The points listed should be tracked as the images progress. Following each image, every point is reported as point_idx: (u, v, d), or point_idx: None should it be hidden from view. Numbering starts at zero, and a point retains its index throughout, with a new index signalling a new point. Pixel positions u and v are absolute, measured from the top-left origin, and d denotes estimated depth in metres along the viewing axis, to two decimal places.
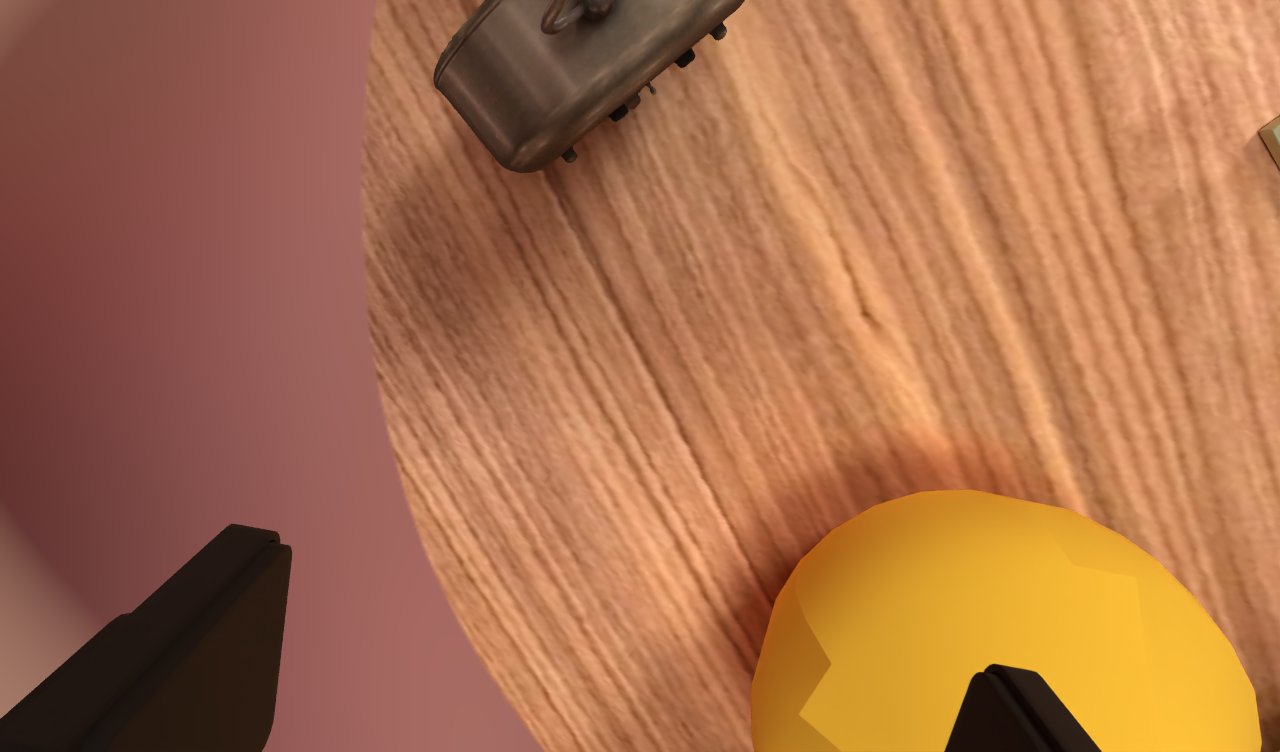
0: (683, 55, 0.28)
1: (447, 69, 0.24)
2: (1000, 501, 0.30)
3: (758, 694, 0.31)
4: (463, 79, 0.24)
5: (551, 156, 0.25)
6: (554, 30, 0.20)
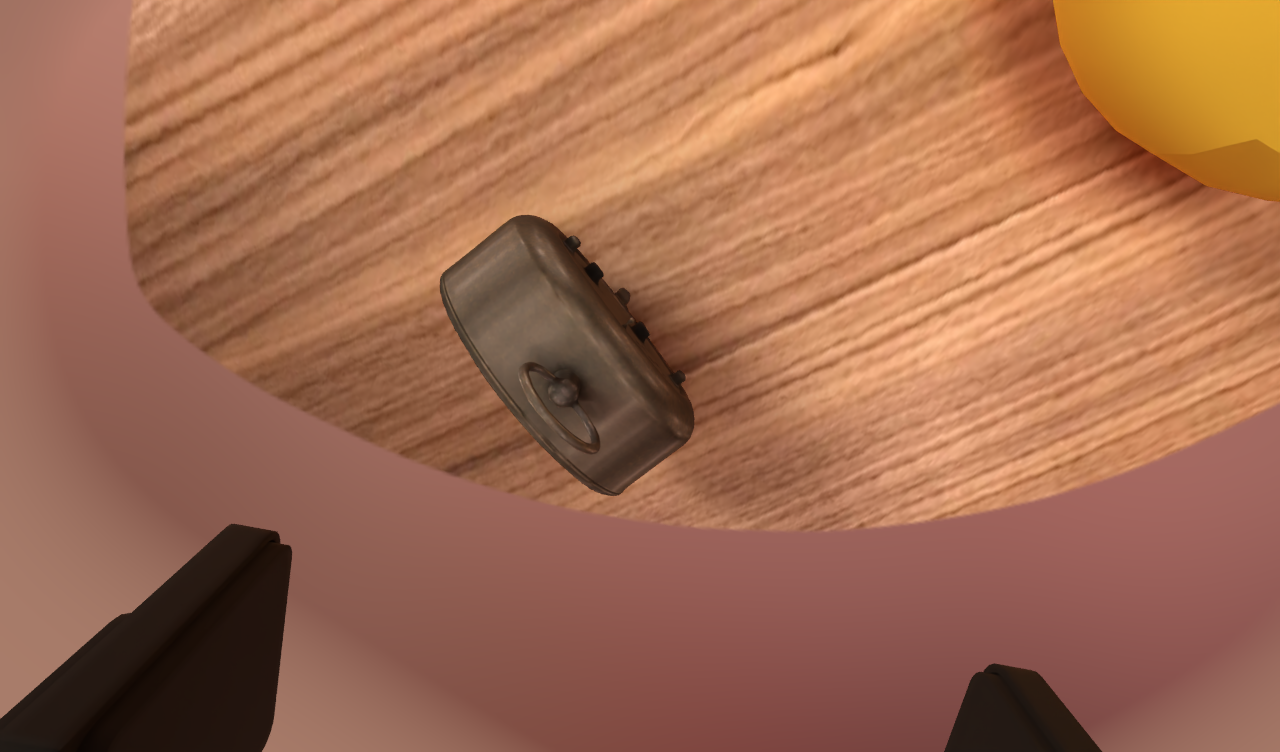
0: (593, 274, 0.30)
1: (613, 490, 0.29)
2: None
3: (1277, 199, 0.27)
4: (622, 479, 0.29)
5: (684, 407, 0.29)
6: (596, 436, 0.24)
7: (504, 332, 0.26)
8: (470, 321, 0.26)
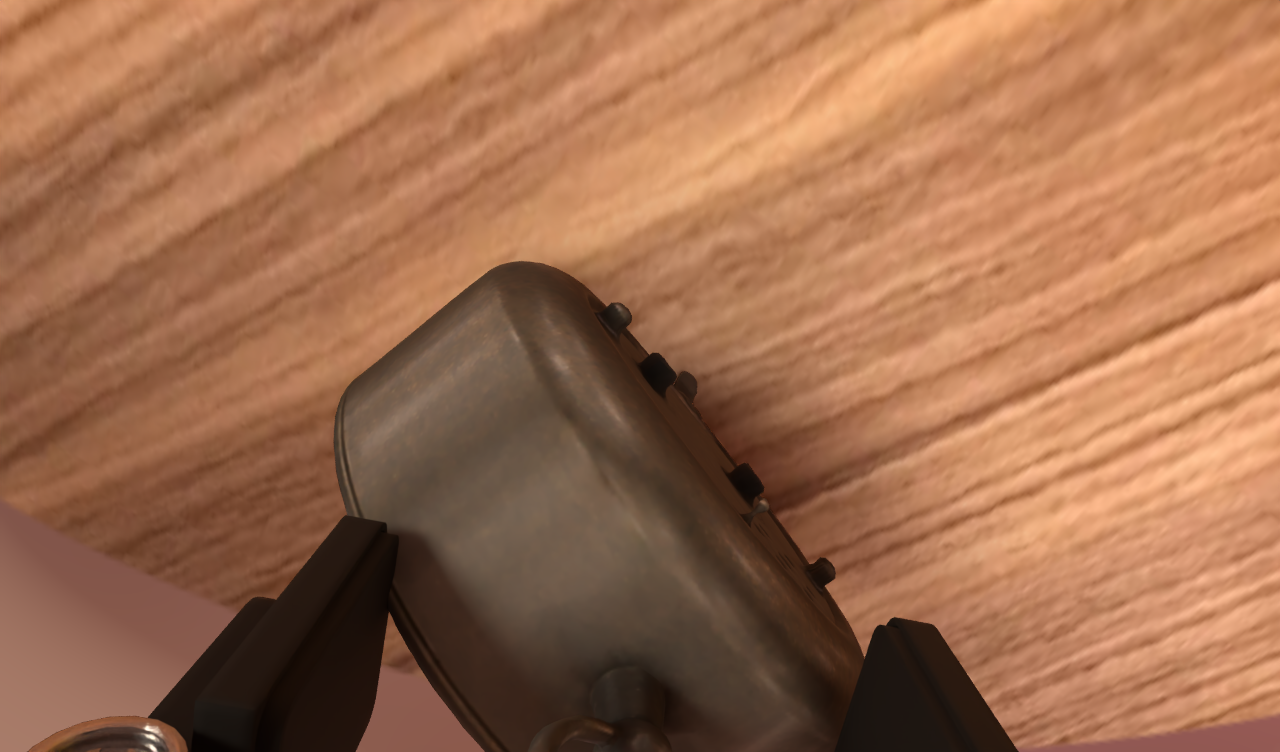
0: (658, 379, 0.15)
1: None
2: None
3: None
4: None
5: None
6: None
7: (475, 569, 0.10)
8: None
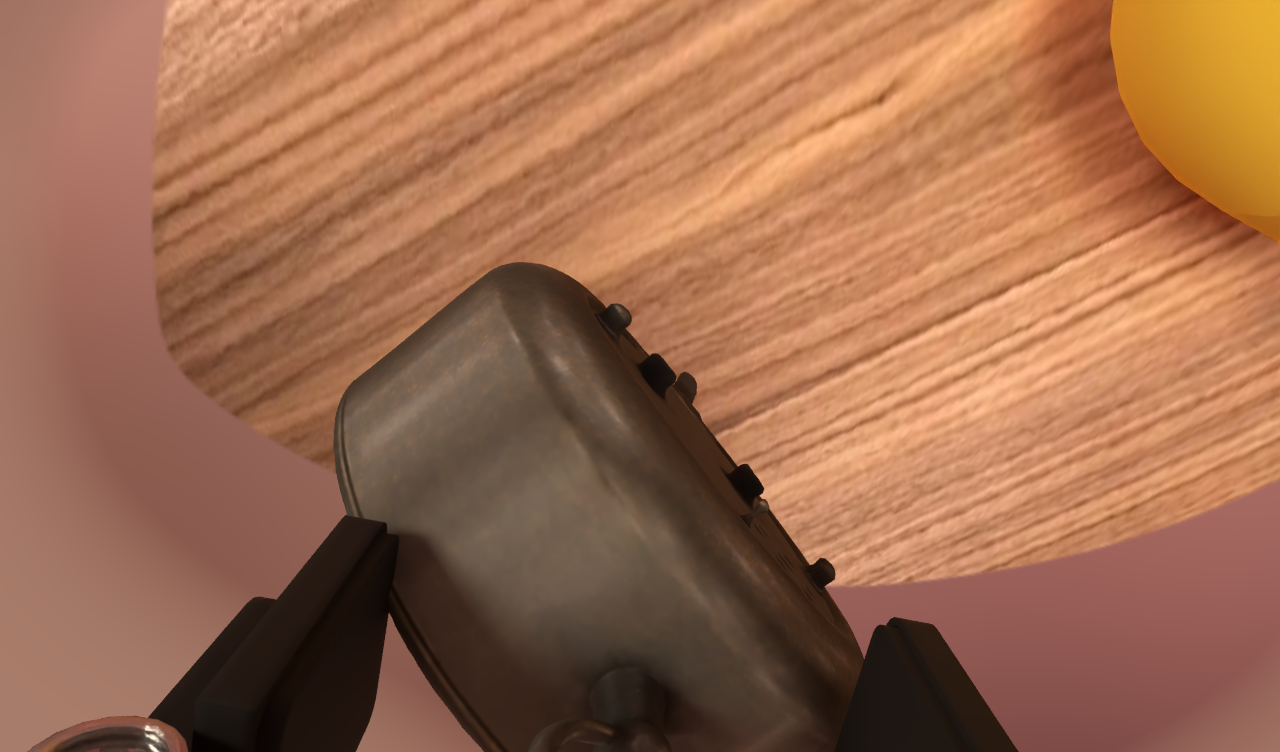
0: (657, 379, 0.15)
1: None
2: None
3: None
4: None
5: None
6: None
7: (475, 570, 0.10)
8: None
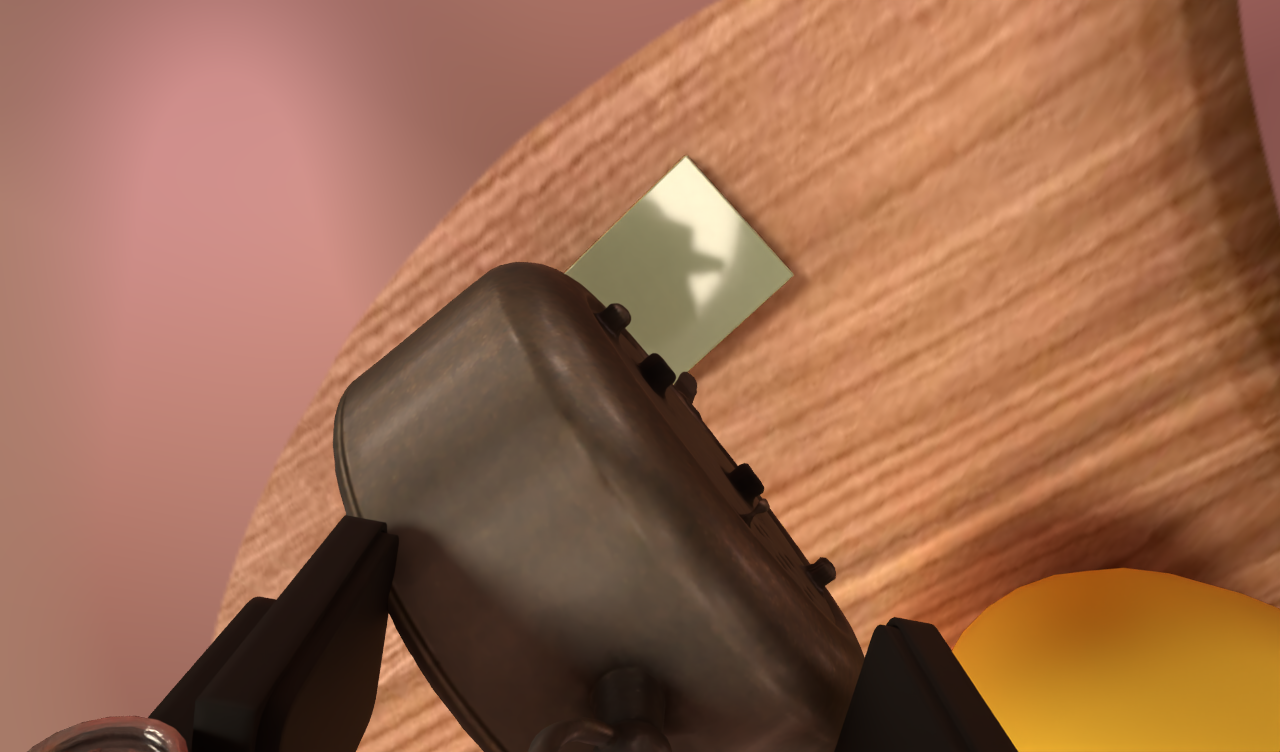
0: (657, 379, 0.15)
1: None
2: None
3: None
4: None
5: None
6: None
7: (475, 570, 0.10)
8: None
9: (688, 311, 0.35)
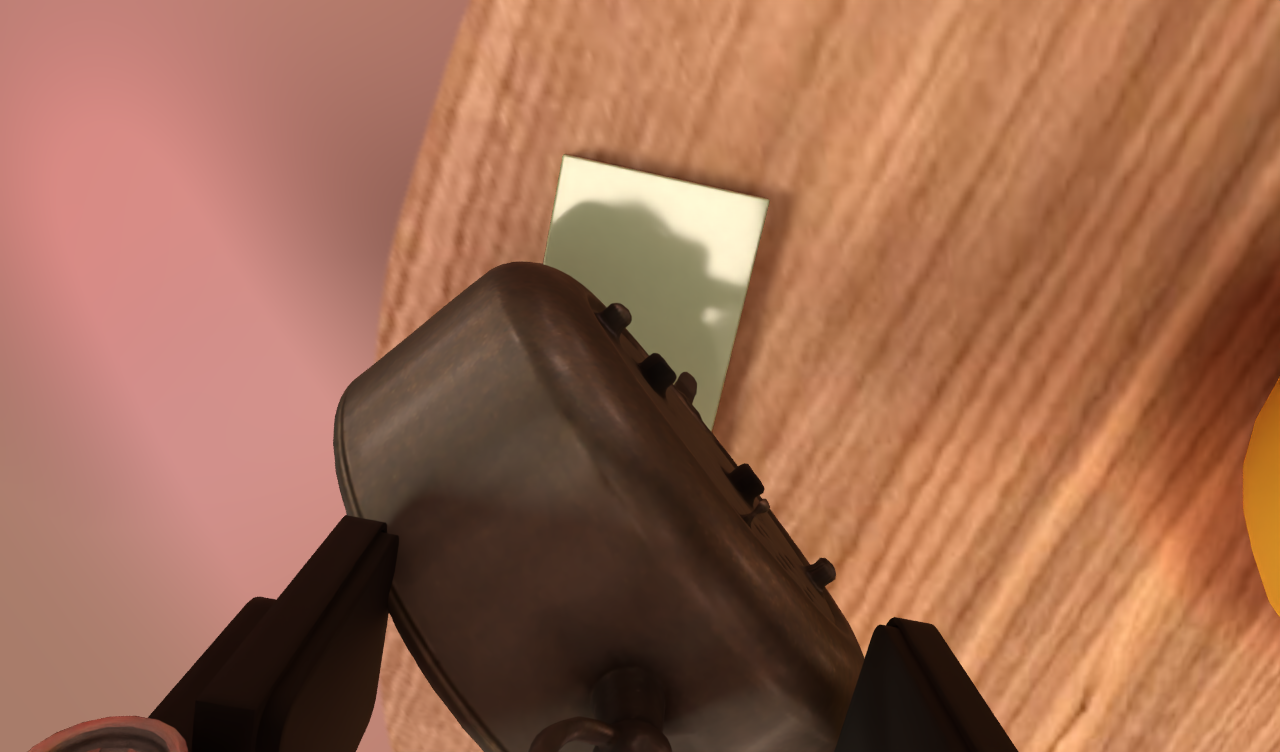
0: (657, 379, 0.15)
1: None
2: None
3: None
4: None
5: None
6: None
7: (475, 570, 0.10)
8: None
9: (681, 316, 0.27)
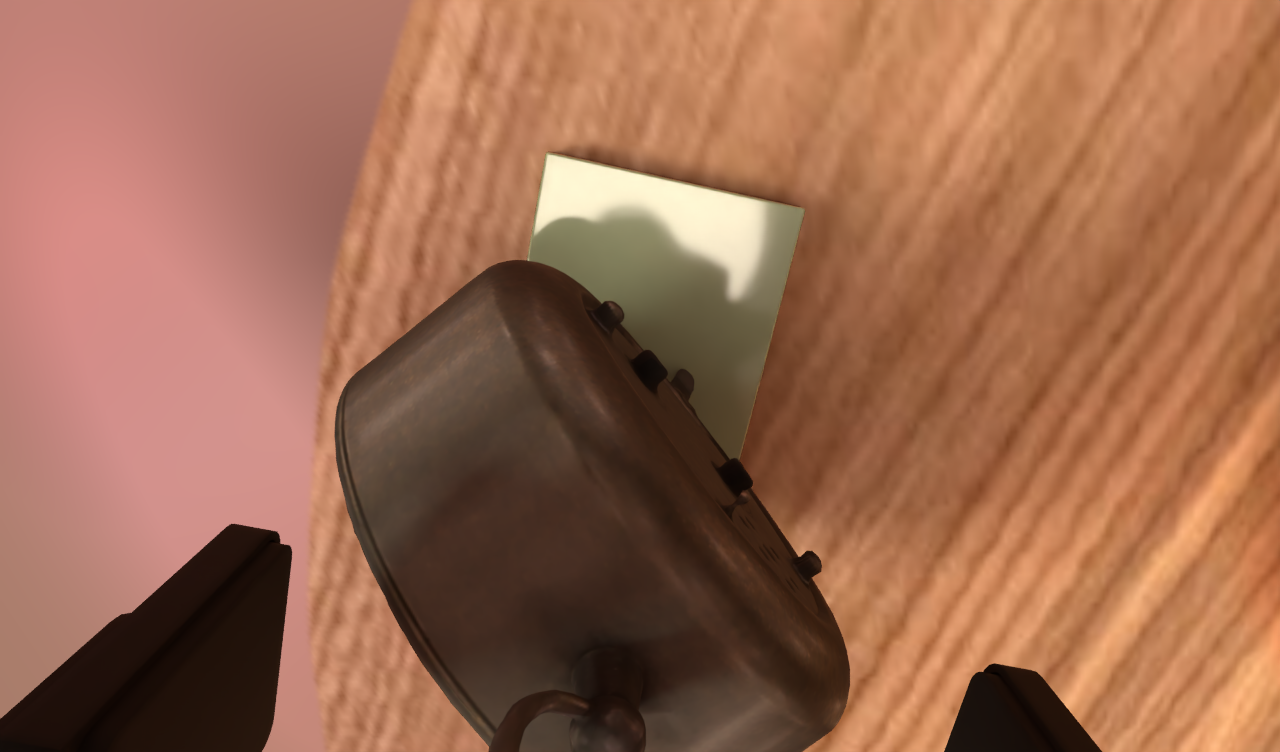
0: (649, 375, 0.16)
1: None
2: None
3: None
4: None
5: (845, 662, 0.14)
6: None
7: (464, 552, 0.11)
8: (387, 519, 0.12)
9: (693, 353, 0.22)
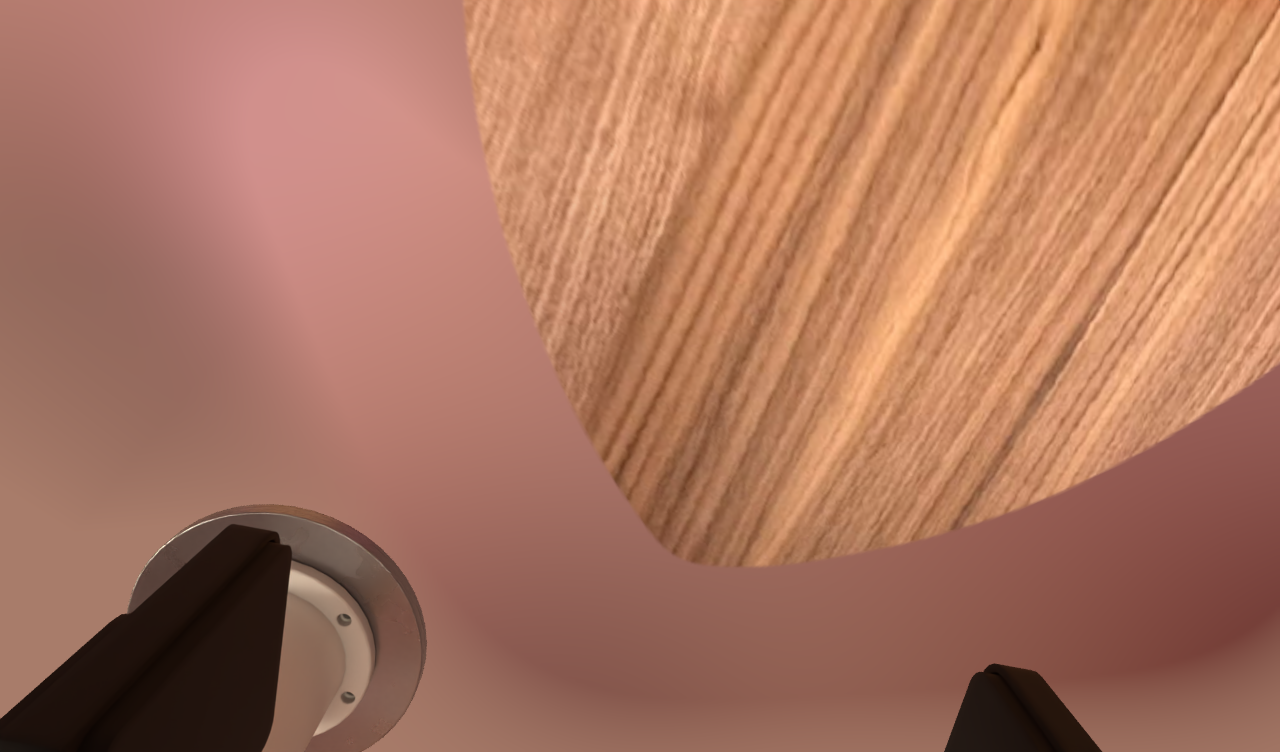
0: None
1: None
2: None
3: None
4: None
5: None
6: None
7: None
8: None
9: None
